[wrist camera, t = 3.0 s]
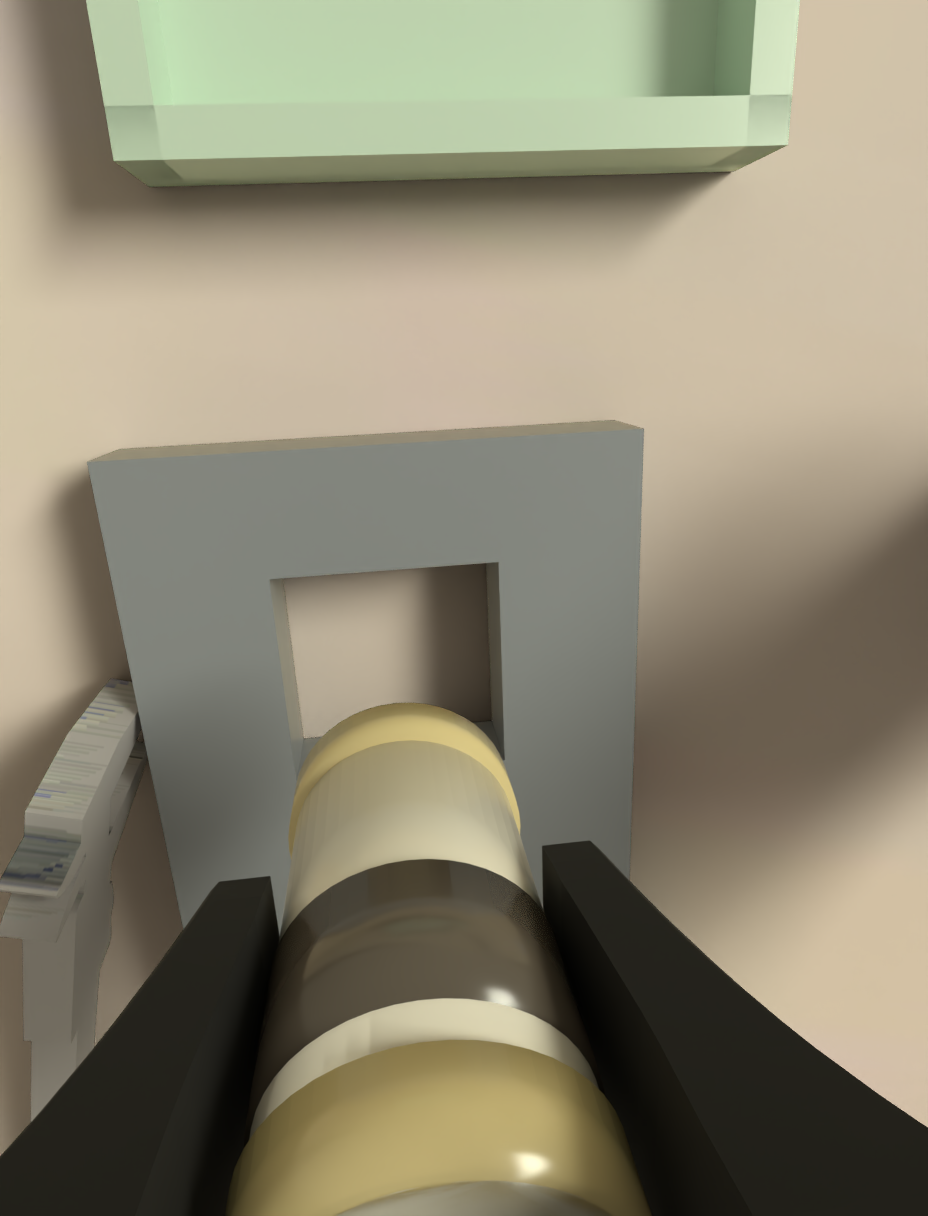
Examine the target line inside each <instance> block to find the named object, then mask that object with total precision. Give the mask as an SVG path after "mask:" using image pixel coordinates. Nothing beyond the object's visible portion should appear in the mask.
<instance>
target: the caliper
mask: <svg viewBox="0 0 928 1216" xmlns="http://www.w3.org/2000/svg"><path fill="white" fill-rule="evenodd" d="M141 728H142V727H141V722H140V717H139V712H138V707H137V702H136V697H135V693H134V688H133V683H132V682H129V681H123V680H117V679H110V680H109V681H108V683H107V684H106V685H105V686H104V687H103V689H102V690H101V691H100V692H99V694H98V695H97V696H96V698H95V699H94V700H93V701H92V703H91V704H90V705H89V707H88V708H87V709H86V711H85V712H84V713H83V714H82V716H81V717H80V718H79V720H78V721H77V722H76V724H75V725H74V726H73V727H72V729H71V730H70V731H69V733H68V734H67V736H66V738H65V739H64V741H63V743H62V745H61V747H60V749H59V750H58V752H57V754H56V756H55V758H54V760H53V761H52V763H51V765H50V767H49V769H48V770H47V772H46V774H45V776H44V778H43V780H42V781H41V783H40V785H39V787H38V789H37V791H36V792H35V794H34V796H33V798H32V800H31V802H30V803H29V805H28V807H27V809H26V811H25V824H24V837H23V839H22V841H21V843H20V845H19V846H18V848H17V850H16V852H15V854H14V855H13V857H12V859H11V861H10V863H9V865H8V866H7V868H6V870H5V872H4V874H3V875H2V877H1V879H0V892H8V893H11V896H10V898H9V901H8V904H7V907H6V910H5V912H4V915H3V918H2V921H1V923H0V937H8V938H17V939H22V948H23V1039H24V1041H31V1122H32V1121H33V1119H34V1118H35V1117H36V1116H37V1115H38V1114H39V1113H40V1111H41V1110H42V1109H43V1108H44V1107H45V1105H46V1104H47V1103H48V1102H49V1101H50V1100H51V1098H52V1097H53V1096H54V1095H55V1094H56V1092H57V1091H58V1090H59V1089H60V1088H61V1086H62V1085H63V1084H64V1083H65V1082H66V1080H67V1079H68V1078H69V1077H70V1076H71V1074H72V1073H73V1072H74V1071H75V1070H76V1068H77V1067H78V1066H79V1065H80V1064H81V1063H82V1061H83V1060H84V1059H85V1058H86V1057H87V1055H88V1054H89V1053H90V1052H91V1051H92V1049H93V1048H94V1040H95V1026H96V1012H97V999H98V985H99V972H100V968H101V965H102V962H103V960H104V957H105V954H106V952H107V949H108V946H109V943H110V939H111V914H112V908H113V901H114V894H113V886H112V881H110V877H111V864H112V860H113V858H114V855H115V852H116V849H117V846H118V843H119V840H120V837H121V834H122V831H123V828H124V826H125V823H126V820H127V817H128V814H129V811H130V808H131V805H132V802H133V799H134V797H135V794H136V791H137V788H138V785H139V782H140V779H141V776H142V773H143V770H144V768H145V765H146V761H147V751H146V746H145V743H143V742H136V740H137V738H138V735H139V733H140V731H141Z"/></svg>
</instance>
